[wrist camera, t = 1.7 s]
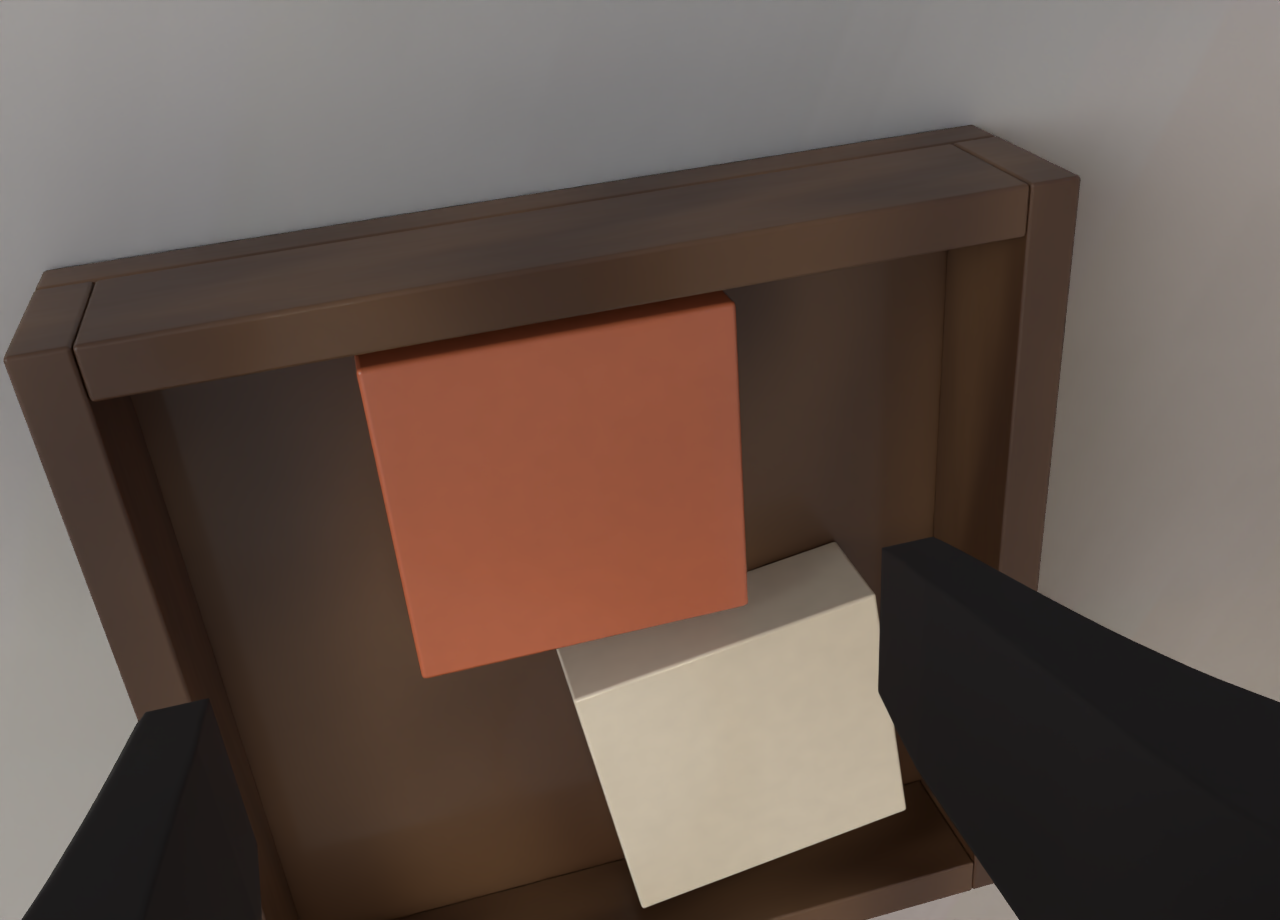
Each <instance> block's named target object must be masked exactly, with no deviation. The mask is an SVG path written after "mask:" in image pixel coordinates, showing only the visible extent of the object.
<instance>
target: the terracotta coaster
mask: <svg viewBox="0 0 1280 920" xmlns="http://www.w3.org/2000/svg"><path fill="white" fill-rule="evenodd" d="M353 358H354V365H355V372H356V377H357V381H358V386H359V391H360V395H361V400H362V405H363V409H364V414H365V419H366V423H367V428H368V432H369V437H370V442H371V446H372V451H373V456H374V460H375V465H376V469H377V474H378V479H379V483H380V488H381V493H382V497H383V502H384V506H385V511H386V516H387V520H388V525H389V530H390V534H391V539H392V543H393V548H394V553H395V557H396V562H397V567H398V571H399V576H400V580H401V585H402V590H403V594H404V599H405V604H406V608H407V613H408V617H409V622H410V627H411V631H412V636H413V641H414V645H415V650H416V654H417V659H418V664H419V668H420V673H421V675H422V676H423V678H427V679H428V678H432V677H436V676H441V675H445V674H449V673H454V672H458V671H462V670H467V669H471V668H476V667H480V666H484V665H489V664H493V663H497V662H502V661H506V660H511V659H515V658H519V657H524V656H528V655H532V654H537V653H541V652H545V651H550V650H554V649H559V648H563V647H567V646H572V645H576V644H580V643H585V642H589V641H594V640H598V639H602V638H607V637H611V636H615V635H620V634H624V633H628V632H633V631H637V630H642V629H646V628H650V627H655V626H659V625H663V624H668V623H672V622H677V621H681V620H685V619H690V618H694V617H698V616H703V615H707V614H712V613H716V612H720V611H725V610H729V609H733V608H738V607H742V606H745V605H747V603H748V584H747V560H746V537H745V513H744V489H743V465H742V441H741V417H740V393H739V369H738V345H737V321H736V305H735V303H734V301H733V300H732V299H731V298H730V297H729V296H728V294H727V293H726V292H725V291H724V290H721V291H715V292H710V293H704V294H698V295H693V296H687V297H681V298H676V299H670V300H665V301H659V302H653V303H648V304H642V305H636V306H631V307H625V308H619V309H614V310H608V311H603V312H597V313H591V314H586V315H580V316H574V317H569V318H563V319H558V320H552V321H546V322H541V323H535V324H529V325H524V326H518V327H513V328H507V329H501V330H496V331H490V332H484V333H479V334H473V335H467V336H462V337H456V338H451V339H445V340H439V341H434V342H428V343H422V344H417V345H411V346H406V347H400V348H394V349H389V350H383V351H377V352H372V353H366V354H361V355H355V356H353Z"/></svg>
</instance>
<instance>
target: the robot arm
mask: <svg viewBox="0 0 1280 920" xmlns="http://www.w3.org/2000/svg"><path fill="white" fill-rule="evenodd" d="M878 693H879V695H880V697H881V699H882V701H883V703H884V705H885V707H886V709H887V711H888V713H889V716H890V718H891V720H892V722H893V724H894V726H895V728H896V730H897V732H898V734H899V736H900V738H901V740H902V742H903V744H904V746H905V748H906V750H907V751H908V753H909V755H910V757H911V759H912V761H913V763H914V765H915V767H916V769H917V770H918V772H919V773H920V775H921V776H922V778H923V779H924V781H925V782H926V784H927V785H928V787H929V788H930V790H931V791H932V793H933V794H934V796H935V797H936V799H937V800H938V802H939V803H940V805H941V806H942V808H943V809H944V811H945V812H946V814H947V815H948V817H949V818H950V820H951V821H952V822H953V824H954V825H955V827H956V828H957V830H958V831H959V833H960V834H961V836H962V837H963V839H964V840H965V841H966V843H967V844H968V846H969V847H970V849H971V850H972V852H973V853H974V855H975V856H976V857H977V859H978V860H979V862H980V863H981V865H982V866H983V868H984V869H985V871H986V872H987V873H988V875H989V876H990V878H991V879H992V881H993V882H994V884H995V885H996V887H997V888H998V889H999V891H1000V892H1001V894H1002V895H1003V897H1004V898H1005V900H1006V901H1007V903H1008V904H1009V905H1010V907H1011V908H1012V910H1013V911H1014V913H1015V914H1016V916H1017V917H1018V919H1019V920H1280V702H1277V701H1275V700H1272V699H1270V698H1267V697H1264V696H1262V695H1259V694H1256V693H1254V692H1251V691H1248V690H1246V689H1243V688H1240V687H1238V686H1235V685H1233V684H1230V683H1227V682H1225V681H1222V680H1220V679H1217V678H1215V677H1212V676H1210V675H1208V674H1205V673H1203V672H1200V671H1198V670H1196V669H1193V668H1191V667H1189V666H1186V665H1184V664H1182V663H1180V662H1178V661H1175V660H1173V659H1171V658H1169V657H1167V656H1164V655H1162V654H1160V653H1158V652H1156V651H1154V650H1151V649H1149V648H1147V647H1145V646H1143V645H1140V644H1138V643H1136V642H1134V641H1132V640H1130V639H1128V638H1126V637H1124V636H1122V635H1120V634H1118V633H1116V632H1114V631H1111V630H1109V629H1107V628H1105V627H1103V626H1101V625H1099V624H1097V623H1096V622H1094V621H1092V620H1090V619H1088V618H1086V617H1084V616H1082V615H1080V614H1078V613H1076V612H1074V611H1072V610H1070V609H1068V608H1067V607H1065V606H1063V605H1061V604H1059V603H1057V602H1055V601H1053V600H1051V599H1050V598H1048V597H1046V596H1044V595H1042V594H1040V593H1038V592H1036V591H1035V590H1033V589H1031V588H1029V587H1027V586H1025V585H1024V584H1022V583H1020V582H1018V581H1016V580H1014V579H1013V578H1011V577H1009V576H1007V575H1005V574H1003V573H1002V572H1000V571H998V570H996V569H994V568H993V567H991V566H989V565H987V564H985V563H983V562H981V561H980V560H978V559H976V558H974V557H972V556H970V555H969V554H967V553H965V552H963V551H961V550H959V549H957V548H955V547H953V546H951V545H949V544H947V543H945V542H943V541H941V540H939V539H937V538H935V537H929V538H924V539H920V540H915V541H911V542H906V543H902V544H897V545H893V546H888V547H884V548H882V561H881V597H880V634H879V670H878ZM22 920H262V911H261V892H260V878H259V863H258V848H257V842H256V839H255V836H254V833H253V830H252V827H251V824H250V821H249V818H248V815H247V812H246V809H245V806H244V803H243V800H242V797H241V794H240V791H239V788H238V785H237V782H236V778H235V775H234V772H233V769H232V766H231V763H230V760H229V757H228V754H227V751H226V748H225V745H224V742H223V739H222V736H221V733H220V730H219V727H218V724H217V721H216V718H215V715H214V712H213V709H212V706H211V703H210V699H209V698H207V699H202V700H198V701H193V702H189V703H184V704H180V705H175V706H171V707H166V708H162V709H157V710H153V711H148V712H145V714H144V715H143V716H142V718H141V719H140V720H139V721H138V723H137V724H136V726H135V728H134V730H133V732H132V734H131V735H130V737H129V739H128V741H127V743H126V745H125V747H124V749H123V750H122V752H121V754H120V756H119V758H118V760H117V762H116V763H115V765H114V767H113V769H112V771H111V773H110V774H109V776H108V778H107V780H106V782H105V784H104V785H103V787H102V789H101V791H100V793H99V794H98V796H97V798H96V800H95V801H94V803H93V805H92V807H91V808H90V810H89V812H88V814H87V815H86V817H85V819H84V821H83V822H82V824H81V826H80V827H79V829H78V831H77V832H76V834H75V836H74V837H73V839H72V841H71V842H70V844H69V846H68V847H67V849H66V851H65V852H64V854H63V856H62V857H61V859H60V860H59V862H58V864H57V865H56V867H55V869H54V870H53V872H52V874H51V875H50V877H49V879H48V880H47V882H46V883H45V885H44V887H43V888H42V890H41V891H40V893H39V894H38V896H37V898H36V899H35V900H34V902H33V903H32V905H31V906H30V908H29V909H28V911H27V912H26V914H25V915H24V917H23V918H22Z"/></svg>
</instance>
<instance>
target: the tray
mask: <svg viewBox="0 0 1280 920" xmlns="http://www.w3.org/2000/svg"><path fill="white" fill-rule="evenodd" d="M1079 188H1080V177H1079V176H1078V175H1076V174H1074V173H1072V172H1070V171H1068V170H1066V169H1064V168H1062V167H1060V166H1058V165H1055V164H1053V163H1051V162H1049V161H1047V160H1045V159H1043V158H1041V157H1039V156H1037V155H1035V154H1033V153H1031V152H1029V151H1026V150H1024V149H1022V148H1020V147H1018V146H1016V145H1014V144H1012V143H1010V142H1008V141H1006V140H1004V139H1002V138H999V137H997V136H996V137H995V136H994V135H992V134H990V133H988V132H986V131H984V130H982V129H980V128H978V127H976V126H973V125H968V126H962V127H955V128H949V129H942V130H936V131H930V132H923V133H917V134H911V135H904V136H898V137H892V138H885V139H879V140H873V141H866V142H860V143H854V144H847V145H841V146H835V147H828V148H822V149H815V150H809V151H803V152H796V153H790V154H784V155H777V156H771V157H765V158H758V159H752V160H746V161H739V162H733V163H727V164H720V165H714V166H708V167H701V168H695V169H688V170H682V171H676V172H669V173H663V174H657V175H650V176H644V177H638V178H631V179H625V180H619V181H612V182H606V183H600V184H593V185H587V186H581V187H574V188H568V189H561V190H555V191H549V192H542V193H536V194H530V195H523V196H517V197H511V198H504V199H498V200H492V201H485V202H479V203H473V204H466V205H460V206H454V207H447V208H441V209H434V210H428V211H422V212H415V213H409V214H403V215H396V216H390V217H384V218H377V219H371V220H365V221H358V222H352V223H346V224H339V225H333V226H327V227H320V228H314V229H307V230H301V231H295V232H288V233H282V234H276V235H269V236H263V237H257V238H250V239H244V240H238V241H231V242H225V243H219V244H212V245H206V246H200V247H193V248H187V249H180V250H174V251H168V252H161V253H155V254H149V255H142V256H136V257H130V258H123V259H117V260H111V261H104V262H98V263H92V264H85V265H79V266H73V267H66V268H60V269H54V270H47V271H45V272H43V274H42V277H41V279H40V281H39V283H38V285H37V287H36V291H35V292H34V293H33V295H32V298H31V300H30V302H29V304H28V306H27V308H26V311H25V313H24V315H23V317H22V319H21V321H20V324H19V326H18V328H17V330H16V332H15V335H14V337H13V339H12V341H11V343H10V345H9V348H8V350H7V352H6V354H5V356H4V364H5V366H6V369H7V372H8V374H9V377H10V380H11V382H12V385H13V388H14V390H15V393H16V396H17V398H18V401H19V404H20V406H21V409H22V412H23V414H24V417H25V420H26V422H27V425H28V428H29V431H30V433H31V436H32V439H33V441H34V444H35V447H36V449H37V452H38V455H39V457H40V460H41V463H42V465H43V468H44V471H45V473H46V476H47V479H48V481H49V484H50V487H51V489H52V492H53V495H54V497H55V500H56V503H57V505H58V508H59V511H60V513H61V516H62V519H63V521H64V524H65V527H66V529H67V532H68V535H69V537H70V540H71V543H72V545H73V548H74V551H75V553H76V556H77V559H78V561H79V564H80V567H81V569H82V572H83V575H84V577H85V580H86V583H87V585H88V588H89V591H90V593H91V596H92V599H93V601H94V604H95V607H96V609H97V612H98V615H99V617H100V620H101V623H102V625H103V628H104V631H105V634H106V636H107V639H108V642H109V644H110V647H111V650H112V652H113V655H114V658H115V660H116V663H117V666H118V668H119V671H120V674H121V676H122V679H123V682H124V684H125V687H126V690H127V692H128V695H129V698H130V700H131V703H132V706H133V708H134V711H135V714H136V716H137V719H138V721H139V720H140V719H141V718H142V716H143V715H144V714H145V712H148V711H153V710H157V709H162V708H166V707H171V706H175V705H180V704H184V703H189V702H193V701H198V700H202V699H207V698H209V699H210V703H211V706H212V709H213V712H214V715H215V718H216V721H217V724H218V727H219V730H220V733H221V736H222V739H223V742H224V745H225V748H226V751H227V754H228V757H229V760H230V763H231V766H232V769H233V772H234V775H235V778H236V782H237V785H238V788H239V791H240V794H241V797H242V800H243V803H244V806H245V809H246V812H247V815H248V818H249V821H250V824H251V827H252V830H253V833H254V836H255V839H256V842H257V848H258V863H259V878H260V892H261V911H262V920H867V919H870V918H874V917H877V916H881V915H884V914H888V913H891V912H895V911H898V910H902V909H905V908H909V907H913V906H916V905H920V904H923V903H927V902H930V901H934V900H937V899H941V898H944V897H948V896H951V895H955V894H958V893H962V892H965V891H969V890H971V888H973V889H975V888H979V887H982V886H986V885H989V884H993V883H994V882H993V881H992V879H991V878H990V876H989V875H988V873H987V872H986V871H985V869H984V868H983V866H982V865H981V863H980V862H979V860H978V859H977V857H976V856H975V855H974V853H973V852H972V850H971V849H970V847H969V846H968V844H967V843H966V841H965V840H964V839H963V837H962V836H961V834H960V833H959V831H958V830H957V828H956V827H955V825H954V824H953V822H952V821H951V820H950V818H949V817H948V815H947V814H946V812H945V811H944V809H943V808H942V806H941V805H940V803H939V802H938V800H937V799H936V797H935V796H934V794H933V793H932V791H931V790H930V788H929V787H928V785H927V784H926V782H925V781H924V779H923V778H922V776H921V775H920V773H919V772H918V770H917V769H916V767H915V765H914V763H913V761H912V759H911V757H910V755H909V753H908V751H907V750H906V748H905V746H904V744H903V742H902V740H901V738H900V736H899V734H898V732H897V730H896V728H895V733H896V740H897V747H898V754H899V761H900V768H901V775H902V782H903V789H904V796H905V803H906V809H905V810H904V811H902V812H899V813H896V814H894V815H891V816H888V817H886V818H883V819H880V820H878V821H875V822H872V823H870V824H867V825H864V826H862V827H859V828H856V829H854V830H851V831H848V832H846V833H843V834H840V835H838V836H835V837H833V838H830V839H827V840H825V841H822V842H819V843H817V844H814V845H811V846H809V847H806V848H803V849H801V850H798V851H795V852H793V853H790V854H787V855H785V856H782V857H779V858H777V859H774V860H771V861H769V862H766V863H763V864H761V865H758V866H755V867H753V868H750V869H747V870H745V871H742V872H740V873H737V874H734V875H732V876H729V877H726V878H724V879H721V880H718V881H716V882H713V883H710V884H708V885H705V886H702V887H700V888H697V889H694V890H692V891H689V892H686V893H684V894H681V895H678V896H676V897H673V898H670V899H668V900H665V901H662V902H660V903H657V904H654V905H652V906H649V907H647V908H643V907H642V906H641V904H640V901H639V898H638V895H637V892H636V889H635V886H634V883H633V880H632V877H631V874H630V871H629V868H628V865H627V862H626V859H625V856H624V853H623V850H622V847H621V844H620V841H619V838H618V835H617V832H616V829H615V826H614V823H613V820H612V817H611V814H610V811H609V808H608V805H607V802H606V799H605V796H604V793H603V790H602V787H601V784H600V781H599V778H598V775H597V772H596V769H595V766H594V763H593V760H592V757H591V754H590V751H589V748H588V745H587V742H586V739H585V736H584V733H583V730H582V727H581V724H580V721H579V717H578V714H577V711H576V708H575V705H574V702H573V699H572V696H571V693H570V690H569V687H568V684H567V681H566V678H565V675H564V672H563V669H562V666H561V663H560V660H559V657H558V654H557V651H556V649H554V650H550V651H545V652H541V653H537V654H532V655H528V656H524V657H519V658H515V659H511V660H506V661H502V662H497V663H493V664H489V665H484V666H480V667H476V668H471V669H467V670H462V671H458V672H454V673H449V674H445V675H441V676H436V677H432V678H428V679H427V678H423V676H422V675H421V673H420V668H419V664H418V659H417V654H416V650H415V645H414V641H413V636H412V631H411V627H410V622H409V617H408V613H407V608H406V604H405V599H404V594H403V590H402V585H401V580H400V576H399V571H398V567H397V562H396V557H395V553H394V548H393V543H392V539H391V534H390V530H389V525H388V520H387V516H386V511H385V506H384V502H383V497H382V493H381V488H380V483H379V479H378V474H377V469H376V465H375V460H374V456H373V451H372V446H371V442H370V437H369V432H368V428H367V423H366V419H365V414H364V409H363V405H362V400H361V395H360V391H359V386H358V381H357V377H356V372H355V365H354V358H353V356H355V355H361V354H366V353H372V352H377V351H383V350H389V349H394V348H400V347H406V346H411V345H417V344H422V343H428V342H434V341H439V340H445V339H451V338H456V337H462V336H467V335H473V334H479V333H484V332H490V331H496V330H501V329H507V328H513V327H518V326H524V325H529V324H535V323H541V322H546V321H552V320H558V319H563V318H569V317H574V316H580V315H586V314H591V313H597V312H603V311H608V310H614V309H619V308H625V307H631V306H636V305H642V304H648V303H653V302H659V301H665V300H670V299H676V298H681V297H687V296H693V295H698V294H704V293H710V292H715V291H721V290H724V291H725V292H726V293H727V294H728V296H729V297H730V298H731V299H732V300H733V301H734V303H735V305H736V321H737V345H738V369H739V393H740V417H741V441H742V465H743V489H744V513H745V537H746V560H747V571H750V570H753V569H756V568H759V567H762V566H765V565H768V564H771V563H773V562H776V561H779V560H782V559H785V558H788V557H791V556H794V555H796V554H799V553H802V552H805V551H808V550H811V549H814V548H817V547H820V546H822V545H825V544H828V543H831V542H836V543H837V544H838V545H839V547H840V548H841V549H842V551H843V552H844V553H845V555H846V556H847V557H848V559H849V560H850V561H851V563H852V564H853V565H854V567H855V568H856V569H857V571H858V572H859V573H860V575H861V576H862V577H863V579H864V580H865V581H866V583H867V584H868V585H869V587H870V588H871V589H872V591H873V592H874V593H875V595H876V601H877V608H878V615H879V622H880V597H881V561H882V548H884V547H888V546H893V545H897V544H902V543H906V542H911V541H915V540H920V539H924V538H929V537H935V538H937V539H939V540H941V541H943V542H945V543H947V544H949V545H951V546H953V547H955V548H957V549H959V550H961V551H963V552H965V553H967V554H969V555H970V556H972V557H974V558H976V559H978V560H980V561H981V562H983V563H985V564H987V565H989V566H991V567H993V568H994V569H996V570H998V571H1000V572H1002V573H1003V574H1005V575H1007V576H1009V577H1011V578H1013V579H1014V580H1016V581H1018V582H1020V583H1022V584H1024V585H1025V586H1027V587H1029V588H1031V589H1033V590H1035V591H1036V592H1037V590H1038V580H1039V571H1040V561H1041V552H1042V542H1043V532H1044V523H1045V513H1046V504H1047V494H1048V485H1049V475H1050V466H1051V456H1052V446H1053V437H1054V427H1055V418H1056V408H1057V399H1058V389H1059V379H1060V370H1061V360H1062V351H1063V341H1064V332H1065V322H1066V312H1067V303H1068V293H1069V284H1070V274H1071V265H1072V255H1073V246H1074V236H1075V226H1076V217H1077V207H1078V198H1079Z"/></svg>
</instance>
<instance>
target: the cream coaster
mask: <svg viewBox="0 0 1280 920" xmlns="http://www.w3.org/2000/svg"><path fill="white" fill-rule="evenodd" d="M747 584H748V603H747V605H745V606H742V607H738V608H733V609H729V610H725V611H720V612H716V613H712V614H707V615H703V616H698V617H694V618H690V619H685V620H681V621H677V622H672V623H668V624H663V625H659V626H655V627H650V628H646V629H642V630H637V631H633V632H628V633H624V634H620V635H615V636H611V637H607V638H602V639H598V640H594V641H589V642H585V643H580V644H576V645H572V646H567V647H563V648H559V649H556V651H557V654H558V657H559V660H560V663H561V666H562V669H563V672H564V675H565V678H566V681H567V684H568V687H569V690H570V693H571V696H572V699H573V702H574V705H575V708H576V711H577V714H578V717H579V721H580V724H581V727H582V730H583V733H584V736H585V739H586V742H587V745H588V748H589V751H590V754H591V757H592V760H593V763H594V766H595V769H596V772H597V775H598V778H599V781H600V784H601V787H602V790H603V793H604V796H605V799H606V802H607V805H608V808H609V811H610V814H611V817H612V820H613V823H614V826H615V829H616V832H617V835H618V838H619V841H620V844H621V847H622V850H623V853H624V856H625V859H626V862H627V865H628V868H629V871H630V874H631V877H632V880H633V883H634V886H635V889H636V892H637V895H638V898H639V901H640V904H641V906H642V907H643V908H647V907H649V906H652V905H654V904H657V903H660V902H662V901H665V900H668V899H670V898H673V897H676V896H678V895H681V894H684V893H686V892H689V891H692V890H694V889H697V888H700V887H702V886H705V885H708V884H710V883H713V882H716V881H718V880H721V879H724V878H726V877H729V876H732V875H734V874H737V873H740V872H742V871H745V870H747V869H750V868H753V867H755V866H758V865H761V864H763V863H766V862H769V861H771V860H774V859H777V858H779V857H782V856H785V855H787V854H790V853H793V852H795V851H798V850H801V849H803V848H806V847H809V846H811V845H814V844H817V843H819V842H822V841H825V840H827V839H830V838H833V837H835V836H838V835H840V834H843V833H846V832H848V831H851V830H854V829H856V828H859V827H862V826H864V825H867V824H870V823H872V822H875V821H878V820H880V819H883V818H886V817H888V816H891V815H894V814H896V813H899V812H902V811H904V810H905V809H906V803H905V796H904V789H903V782H902V775H901V768H900V761H899V754H898V747H897V740H896V733H895V726H894V724H893V722H892V720H891V718H890V716H889V713H888V711H887V709H886V707H885V705H884V703H883V701H882V699H881V697H880V695H879V693H878V670H879V634H880V622H879V615H878V608H877V601H876V595H875V593H874V592H873V591H872V589H871V588H870V587H869V585H868V584H867V583H866V581H865V580H864V579H863V577H862V576H861V575H860V573H859V572H858V571H857V569H856V568H855V567H854V565H853V564H852V563H851V561H850V560H849V559H848V557H847V556H846V555H845V553H844V552H843V551H842V549H841V548H840V547H839V545H838V544H837V543H836V542H831V543H828V544H825V545H822V546H820V547H817V548H814V549H811V550H808V551H805V552H802V553H799V554H796V555H794V556H791V557H788V558H785V559H782V560H779V561H776V562H773V563H771V564H768V565H765V566H762V567H759V568H756V569H753V570H750V571H747Z"/></svg>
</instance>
